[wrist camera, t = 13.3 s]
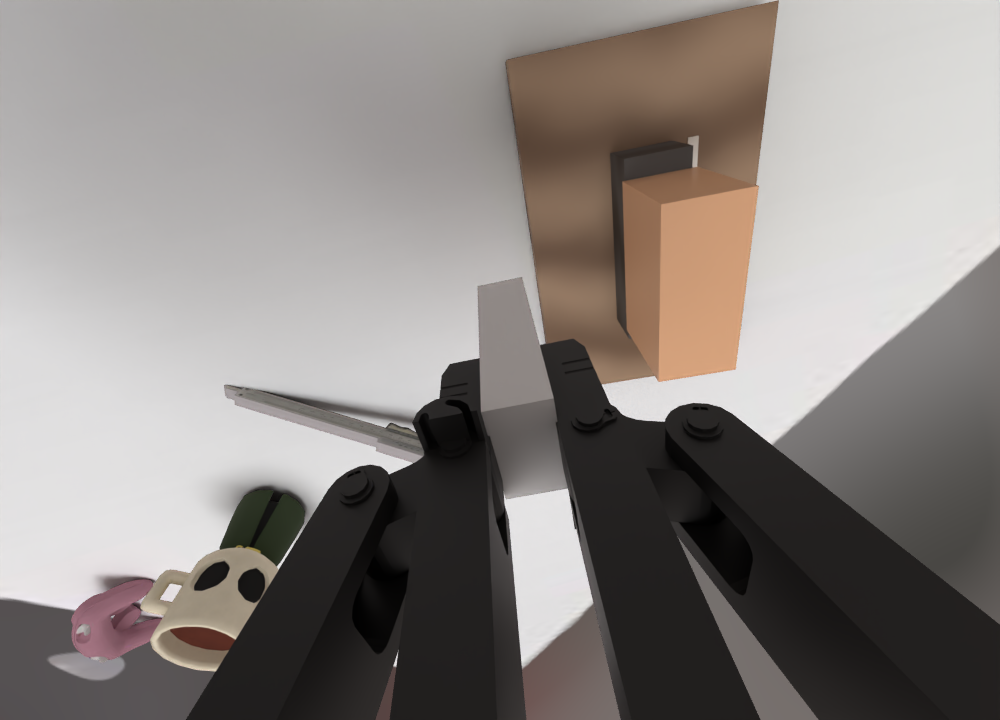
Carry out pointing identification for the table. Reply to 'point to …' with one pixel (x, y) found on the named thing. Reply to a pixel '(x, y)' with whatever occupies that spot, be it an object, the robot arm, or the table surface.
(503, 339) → the robot arm
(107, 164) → the table surface
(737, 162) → the board
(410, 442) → the caliper
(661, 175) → the block
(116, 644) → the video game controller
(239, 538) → the character mug
